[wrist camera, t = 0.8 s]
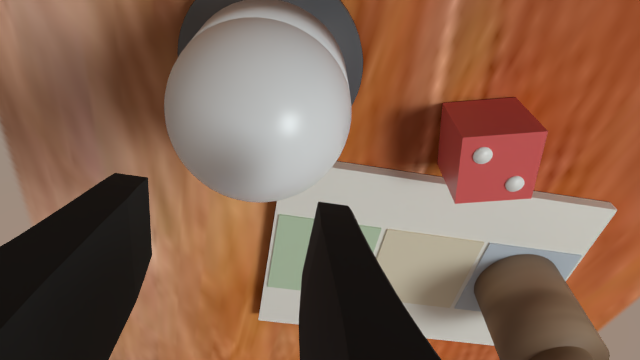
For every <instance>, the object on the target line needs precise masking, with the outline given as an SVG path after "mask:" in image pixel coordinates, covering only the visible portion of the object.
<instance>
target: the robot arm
mask: <svg viewBox="0 0 640 360" xmlns="http://www.w3.org/2000/svg"><path fill="white" fill-rule="evenodd" d="M151 256H152V248H151V229H150V211H149V192H148V178H147V177H139V176H132V175H125V174H118V173H114V174H113V175H111V176H109V177H108V178H106V179H105V180H103V181H101V182H100V183H98V184H97V185H95V186H94V187H92V188H91V189H89V190H88V191H86V192H85V193H83V194H82V195H80V196H79V197H77V198H76V199H74V200H73V201H71V202H70V203H68V204H67V205H65V206H64V207H62V208H61V209H59V210H58V211H56V212H55V213H53V214H52V215H50V216H49V217H47V218H45V219H44V220H42V221H41V222H39V223H38V224H36V225H35V226H33V227H31V228H30V229H28V230H27V231H25V232H24V233H22V234H21V235H19V236H17V237H16V238H14V239H12V240H11V241H9V242H7V243H6V244H4V245H2V246H0V360H108V359H109V357H110V355H111V353H112V351H113V349H114V347H115V345H116V343H117V341H118V339H119V336H120V334H121V332H122V330H123V328H124V326H125V324H126V322H127V320H128V318H129V316H130V314H131V311H132V309H133V307H134V305H135V303H136V300H137V298H138V295H139V292H140V289H141V286H142V283H143V281H144V278H145V274H146V271H147V268H148V265H149V262H150V259H151ZM299 345H300V360H441V359H440V357H439V356H438V354H437V353H436V352H435V350H434V349H433V348H432V346H431V345H430V343H429V342H428V340H427V339H426V338H425V336H424V335H423V333H422V332H421V330H420V329H419V327H418V326H417V324H416V323H415V321H414V320H413V318H412V317H411V315H410V314H409V312H408V311H407V309H406V308H405V306H404V305H403V303H402V301H401V300H400V298H399V297H398V295H397V293H396V292H395V290H394V288H393V287H392V285H391V283H390V281H389V280H388V278H387V276H386V275H385V273H384V271H383V270H382V268H381V266H380V264H379V263H378V261H377V259H376V257H375V255H374V254H373V252H372V250H371V248H370V246H369V244H368V242H367V240H366V238H365V236H364V235H363V233H362V231H361V229H360V227H359V224H358V222H357V220H356V218H355V216H354V214H353V212H352V210H351V209H350V207H349V206H347V205H339V204H332V203H325V202H318V205H317V209H316V214H315V218H314V222H313V227H312V231H311V236H310V240H309V245H308V249H307V254H306V258H305V263H304V267H303V271H302V281H301V294H300V308H299Z"/></svg>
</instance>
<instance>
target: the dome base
mask: <svg viewBox="0 0 640 360" xmlns="http://www.w3.org/2000/svg"><path fill="white" fill-rule="evenodd" d="M240 1H243V0H195V1H194V3H193V4H192V5H191V7H190V9H189V11H188V13H187V14H186V16H185V19H184V21H183V24H182V27H181V30H180V35H179V40H178V57H179V55H180V53H181V52H182V51H183V50H184V48H185V47H186V46H187V44H188V43H189V42H190V41H191V40H192V38H193V37H194V36H195V35H196V33H197V32H198V31H199V30H200V29H201V27H202V26H203V25H204V24H205V22H206V21H207V20H208V19H210V18H211V17H212V16H213V15H214V14H215V13H217V12H218V11H220V10H221V9H223V8H225V7H227V6H229V5H231V4H233V3H236V2H240ZM281 1H284V2H288V3H291V4H293V5H296V6H298V7H300V8H302V9H304V10H306V11H307V12H309V13H311V14H312V15H313V16H314V17H316V18H317V19H318V20H319V21H320V22H321V23H322V24H323V25H324V26H325V27H326V28H327V29H328V30H329V31H330V33H331V34H332V35H333V37H334V38H335V40H336V42H337V44H338V45H339V48H340V50H341V52H342V55H343V58H344V62H345V66H346V72H347V78H348V84H349V90H350V97H351V106H352V104H353V102H354V100H355V98H356V96H357V93H358V90H359V87H360V84H361V78H362V72H363V56H362V48H361V43H360V39H359V35H358V32H357V29H356V26H355V24H354V21H353V19H352V17H351V15H350V14H349V12H348V10H347V8H346V7H345V6H344V4H343V3H342V2H341V0H281Z"/></svg>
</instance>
